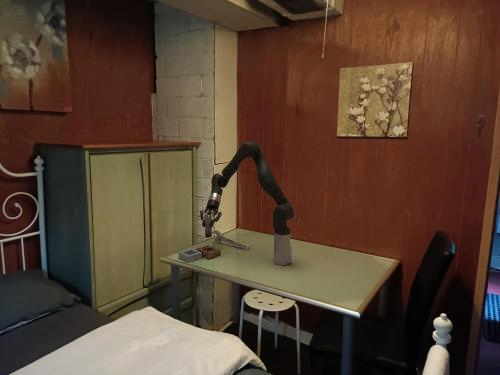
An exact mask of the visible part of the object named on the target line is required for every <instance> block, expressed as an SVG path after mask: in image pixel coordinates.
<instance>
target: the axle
mask: <svg viewBox="0 0 500 375" xmlns="http://www.w3.org/2000/svg"><path fill="white" fill-rule="evenodd" d="M204 216H205V227H204V238H206V239H207V238H212V237H213V235H212V232H213V227H212V228H210V224H211V221H212V215H211V214H206V215H205V214H204Z"/></svg>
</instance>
